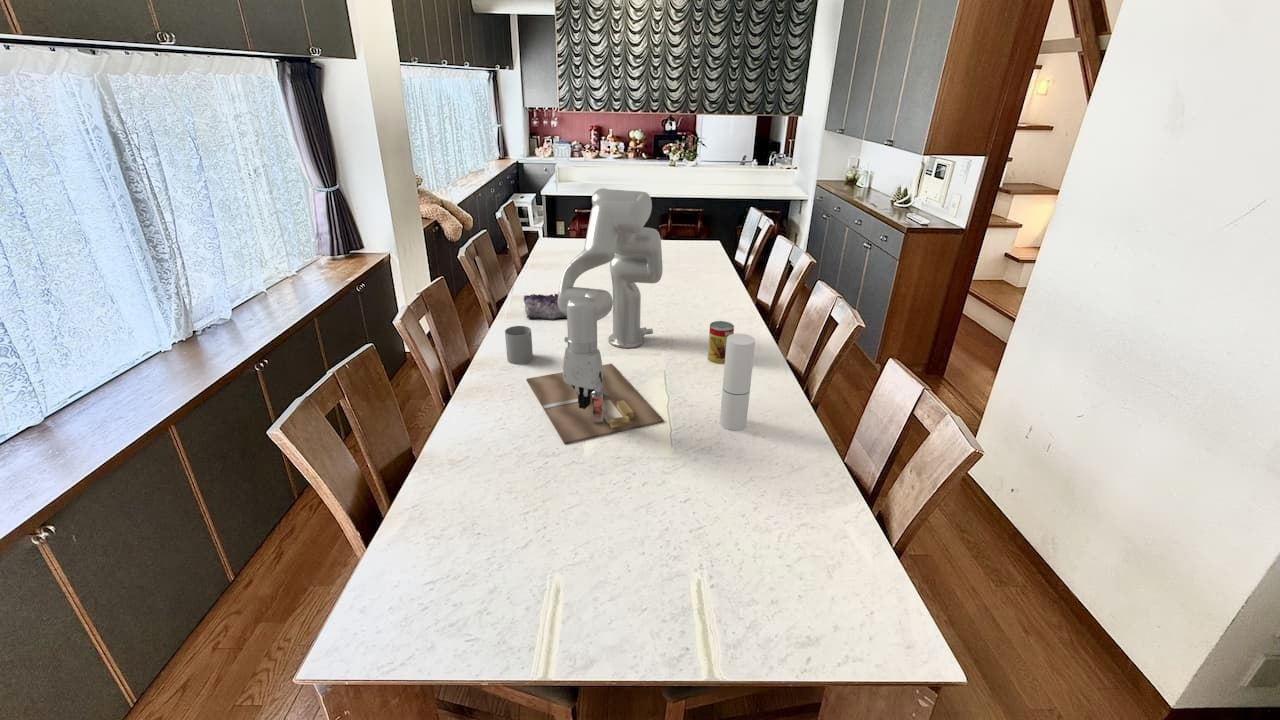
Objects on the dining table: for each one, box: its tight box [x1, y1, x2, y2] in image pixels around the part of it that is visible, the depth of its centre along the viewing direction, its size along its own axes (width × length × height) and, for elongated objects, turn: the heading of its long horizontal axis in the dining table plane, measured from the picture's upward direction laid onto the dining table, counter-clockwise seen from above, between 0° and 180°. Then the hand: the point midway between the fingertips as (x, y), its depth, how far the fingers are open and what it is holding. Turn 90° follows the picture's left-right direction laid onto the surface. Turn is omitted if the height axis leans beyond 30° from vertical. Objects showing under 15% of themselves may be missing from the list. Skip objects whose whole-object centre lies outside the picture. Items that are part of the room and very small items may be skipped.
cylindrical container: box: [719, 333, 756, 431], centre depth 157 cm, size 7×7×25 cm
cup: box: [504, 325, 534, 365], centre depth 195 cm, size 8×8×10 cm
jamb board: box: [526, 363, 664, 445], centre depth 172 cm, size 28×38×3 cm
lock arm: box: [590, 389, 604, 422], centre depth 166 cm, size 17×4×5 cm, turn 4°
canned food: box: [707, 320, 735, 365], centre depth 197 cm, size 8×8×12 cm
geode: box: [523, 293, 567, 321], centre depth 231 cm, size 20×12×10 cm, turn 90°
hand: (584, 406), depth 163 cm, fingers closed
